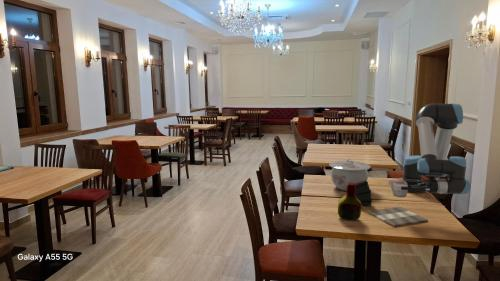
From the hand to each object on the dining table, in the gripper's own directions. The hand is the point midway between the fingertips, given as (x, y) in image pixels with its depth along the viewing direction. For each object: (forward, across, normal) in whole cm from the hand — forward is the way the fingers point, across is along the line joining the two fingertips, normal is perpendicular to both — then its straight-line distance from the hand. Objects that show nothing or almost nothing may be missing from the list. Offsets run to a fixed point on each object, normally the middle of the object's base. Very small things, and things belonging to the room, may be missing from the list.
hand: (391, 184), depth 175 cm
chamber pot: (+13, +49, -18) cm, 54 cm away
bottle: (+22, -5, -18) cm, 29 cm away
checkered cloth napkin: (-4, 0, -18) cm, 18 cm away
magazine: (+12, +18, -18) cm, 28 cm away
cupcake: (-4, 0, -6) cm, 8 cm away
